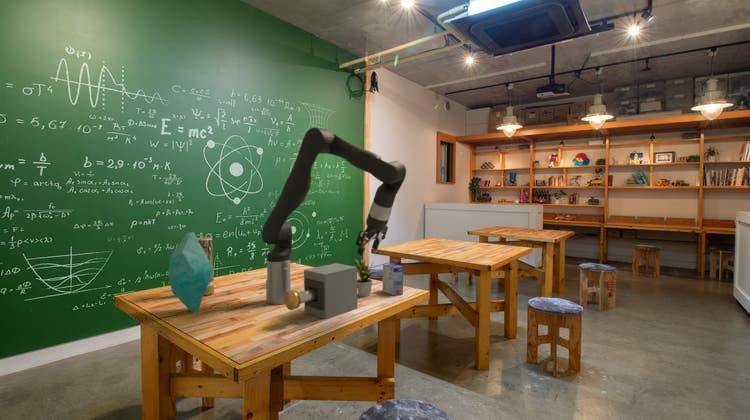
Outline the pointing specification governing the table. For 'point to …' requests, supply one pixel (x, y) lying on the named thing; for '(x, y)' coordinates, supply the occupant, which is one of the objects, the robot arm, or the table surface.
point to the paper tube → (208, 250)
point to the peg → (299, 298)
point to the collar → (320, 293)
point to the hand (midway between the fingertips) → (367, 251)
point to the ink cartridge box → (393, 278)
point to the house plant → (364, 279)
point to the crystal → (189, 272)
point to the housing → (334, 289)
